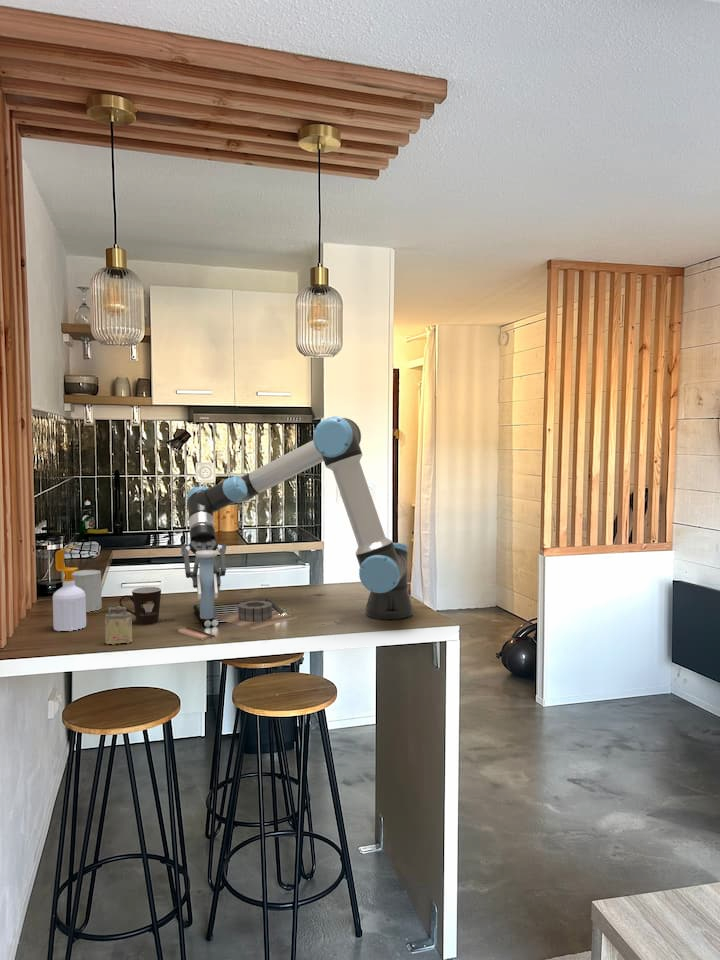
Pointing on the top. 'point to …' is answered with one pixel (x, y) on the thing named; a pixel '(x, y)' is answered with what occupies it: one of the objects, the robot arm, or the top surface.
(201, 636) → the tile
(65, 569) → the soap bottle
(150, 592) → the coffee mug
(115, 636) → the beige rectangular bottle
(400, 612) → the robot arm
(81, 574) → the grey tapered cup
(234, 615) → the eye plate
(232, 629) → the top surface
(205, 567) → the peg
